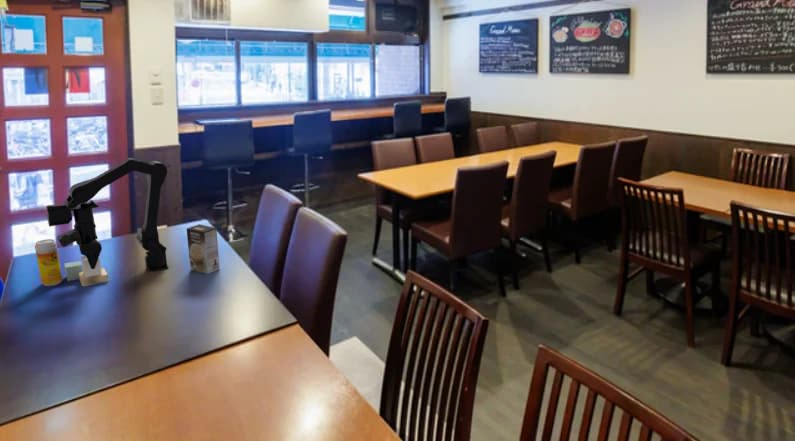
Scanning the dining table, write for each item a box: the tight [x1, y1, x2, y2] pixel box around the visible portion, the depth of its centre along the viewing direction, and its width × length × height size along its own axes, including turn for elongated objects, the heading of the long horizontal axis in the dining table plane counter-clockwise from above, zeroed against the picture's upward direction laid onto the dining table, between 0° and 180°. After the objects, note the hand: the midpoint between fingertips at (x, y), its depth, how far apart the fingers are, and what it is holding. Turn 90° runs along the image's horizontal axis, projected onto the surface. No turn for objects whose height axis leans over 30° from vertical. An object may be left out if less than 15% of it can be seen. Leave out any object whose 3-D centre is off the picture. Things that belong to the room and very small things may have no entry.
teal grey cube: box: [64, 260, 84, 282], centre depth 189 cm, size 5×5×5 cm
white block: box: [80, 255, 102, 277], centre depth 186 cm, size 5×5×6 cm
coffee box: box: [186, 224, 221, 275], centre depth 196 cm, size 9×6×16 cm
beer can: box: [34, 239, 63, 287], centre depth 182 cm, size 6×6×15 cm
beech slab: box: [78, 267, 109, 287], centre depth 187 cm, size 8×8×3 cm
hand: (91, 264), depth 186 cm, fingers open, 9 cm apart
